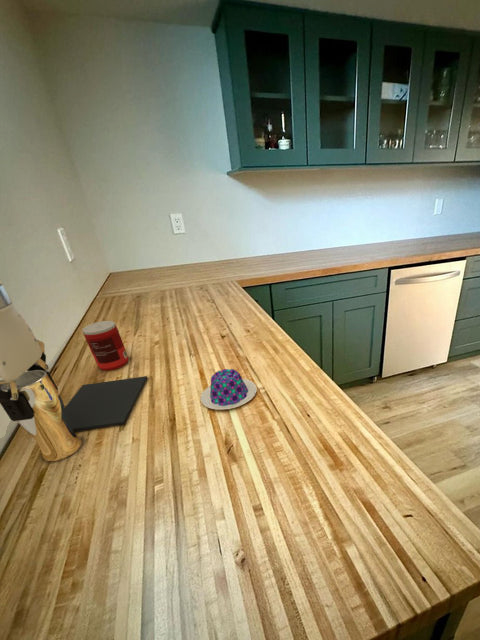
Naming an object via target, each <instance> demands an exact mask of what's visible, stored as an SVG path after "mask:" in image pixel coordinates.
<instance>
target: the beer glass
mask: <svg viewBox="0 0 480 640" xmlns="http://www.w3.org/2000/svg"><path fill="white" fill-rule="evenodd" d="M16 385H17V390H18V396H23V397H24V399H25V400H26V402H27V404H28V405H29V407H30V408H31V410H32V412H33V413H34V417H33V418H32V419H27V420H20V421H17V423H18V424H19V425H20V426H21V427H22V428H23V429H24V430H25V431H26V432H27V433H28V434H29V435H30V436H31V437H32V438H33V439H34V440H35V441H36V443H37V445H38V447H39V449H40V452H41V455H42V457H43V459H44V460H45V461H47V462H56V461H60V460H61V461H62V460H63V459H66V458H68V457H70V456H71V455H73V454H74V453H76V452H77V451H78V450H79V449H80V447H81V445H82V440H81V438H80V437H79V436H78V435H77V434H76V432H74V431H73V430H72V429H71V427H70V425H69V422H68V419H67V415H66V411H65V405H64V402H63V399H62V397H61V394H60V393H59V391H58V390H57V389H56V387H55V386H54V384H53V383H52V381H51V380H50V378H49V377H48V375H47V374H46V372H45V371H43V370H32V371H26V372H24V373H23V374H22V375H21V376H20V377H18V378H17V379H16ZM1 389H2V390H3V391H7V392H8V390H7V384H3V385H1Z"/></svg>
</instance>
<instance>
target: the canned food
mask: <svg viewBox="0 0 480 640" xmlns="http://www.w3.org/2000/svg"><path fill="white" fill-rule="evenodd" d="M82 334H83V336H84V339H85V340H86V343H87V345H88V347H89V350H90V352H91V354H92V356H93V359H94V361H95V363H96V366H97V367H98V368H99V369H100V370H101V371H105V372H106V371H107V372H109V371H114V370H119V369H120V368H123V367H125V366H126V365H127V364H128V362H129V355H128V353H127V349H126V347H125V344H124V342H123V339H122V337H121V334H120V331H119V329H118V327H117V324H116V323H115V321H113V320H102V321H98V322H97V321H96V322H93V323H91V324H87V325H86V326H85V327H83V328H82Z"/></svg>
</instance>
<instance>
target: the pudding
mask: <svg viewBox="0 0 480 640" xmlns="http://www.w3.org/2000/svg"><path fill="white" fill-rule="evenodd" d="M257 389H258V388H257V385H256V383H254V382H253V381H252V380H250V379H247V378H243V377H242V376H241V374H240V373H239V372H238V371H237V370H236V369H233V368H230V369H228V368H224V369H222V370H218V371H216V372H214V374H212V375H211V377H210V385H209V386H207V387H206V388H205V389H204V390H203V391H202V393H201V394H200V402H201V404H202V405H203V406H204V407H206V408H208V409H211V410H217V411H218V410H223V411H224V410H229V409H234V408H235V409H236V408H238V407H240V406H243V405H244V404H246V403H249V401H251V400H253V398H254V397H255V395H256V393H257V391H258V390H257Z"/></svg>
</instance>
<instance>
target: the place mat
mask: <svg viewBox="0 0 480 640" xmlns="http://www.w3.org/2000/svg"><path fill="white" fill-rule="evenodd" d="M147 381H148V376H147V375H145V376H144V375H143V376H138V377H137V376H136V377H129V378H123V379H116V380H108V381H101V382H93V383H87V384H82V385H81V387H79V389H78V390H77V391H76V393H74V395H73V397H71V398H70V400H69V402H67V404H66V405H65V406H64V408H65V411H66V415H67V419H68V422H69V425H70V427H71V429H72V430H73V431H74V433H76V432H82V431H83V432H84V431H90V430H97V429H103V428H109V427H111V428H112V427H116V426H122V425H123V426H124V425H126V423H127V421H128V419H129V417H130V415H131V413H132V411H133V409H134V406H135V405H136V404H137V401H138V399H139V397H140V395H141V393H142V391H143V389H144V387H145V385H146V383H147Z"/></svg>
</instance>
